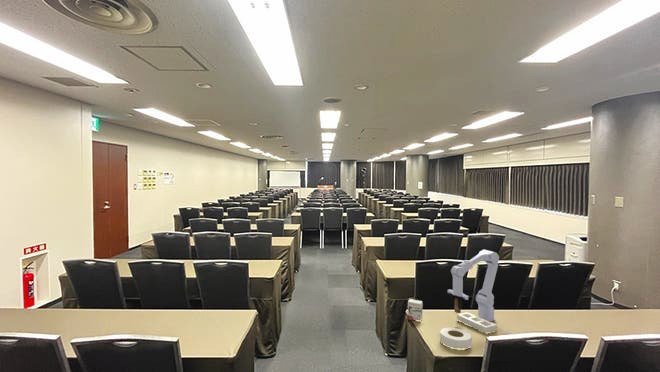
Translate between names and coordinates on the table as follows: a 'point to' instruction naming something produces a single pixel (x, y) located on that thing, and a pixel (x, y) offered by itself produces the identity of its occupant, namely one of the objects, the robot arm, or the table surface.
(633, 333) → the table surface
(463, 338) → the roll of tape
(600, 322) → the table surface
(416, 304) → the ink box
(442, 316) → the table surface
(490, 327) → the well block
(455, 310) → the walnut peg
